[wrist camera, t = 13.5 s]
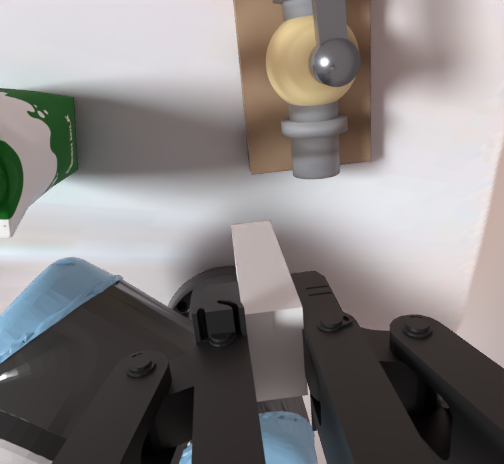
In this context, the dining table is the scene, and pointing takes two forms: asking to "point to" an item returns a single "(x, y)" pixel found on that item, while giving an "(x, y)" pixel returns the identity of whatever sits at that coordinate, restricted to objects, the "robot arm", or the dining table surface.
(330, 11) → the lever
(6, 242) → the dining table surface
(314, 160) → the valve rig
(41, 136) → the milk carton
